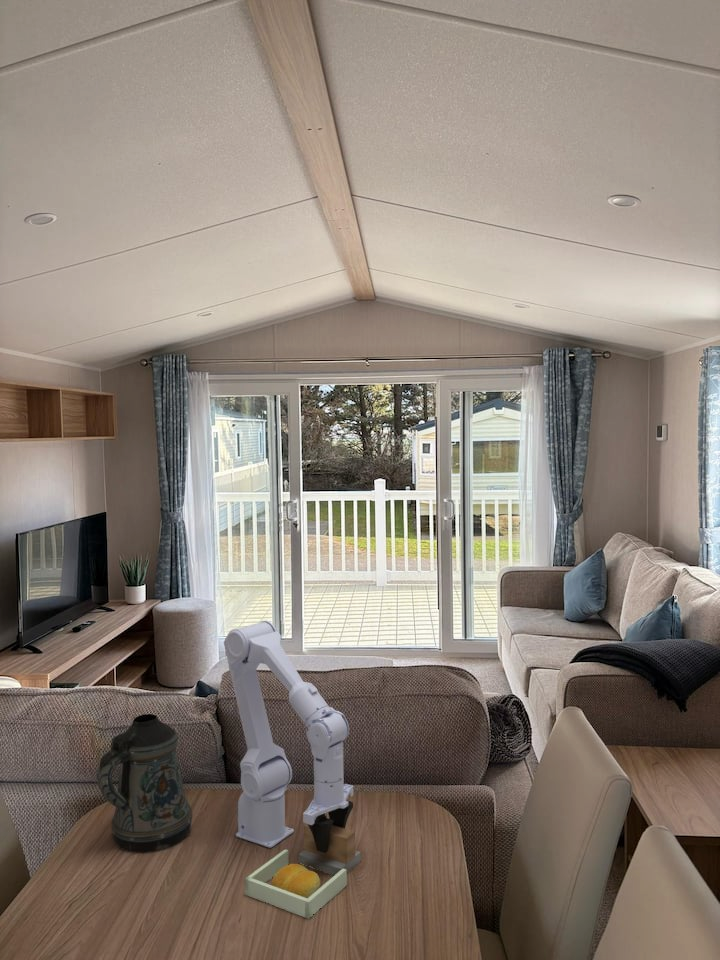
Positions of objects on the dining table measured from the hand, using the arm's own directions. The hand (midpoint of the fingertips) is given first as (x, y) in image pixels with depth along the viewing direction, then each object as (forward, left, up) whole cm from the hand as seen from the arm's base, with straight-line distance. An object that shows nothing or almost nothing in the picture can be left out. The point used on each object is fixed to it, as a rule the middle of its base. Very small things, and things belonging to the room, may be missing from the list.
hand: (329, 844), depth 157 cm
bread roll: (0, -11, -4) cm, 12 cm away
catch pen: (0, -11, -3) cm, 12 cm away
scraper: (0, 0, -4) cm, 4 cm away
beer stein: (-38, -11, -4) cm, 40 cm away
